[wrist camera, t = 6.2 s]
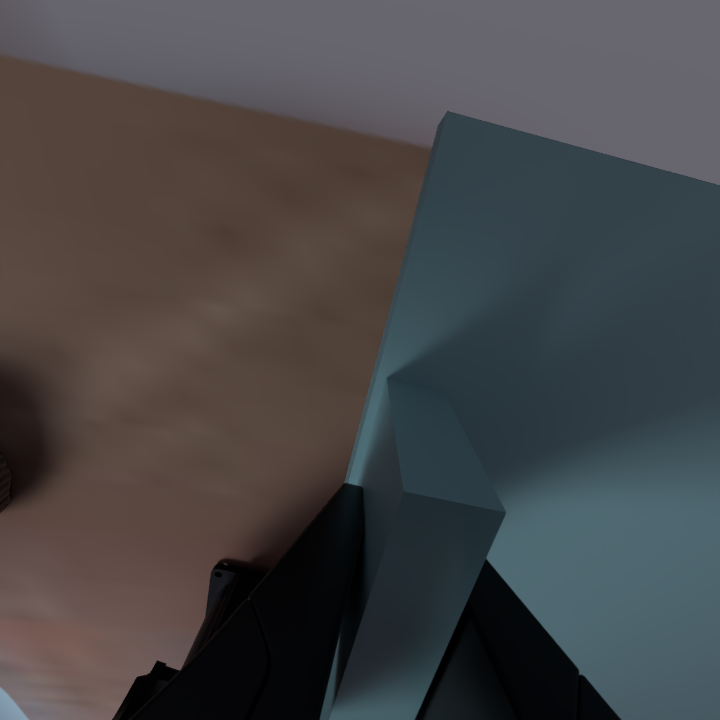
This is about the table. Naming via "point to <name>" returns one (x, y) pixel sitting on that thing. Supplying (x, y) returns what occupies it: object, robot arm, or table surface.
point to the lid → (544, 426)
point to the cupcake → (4, 483)
